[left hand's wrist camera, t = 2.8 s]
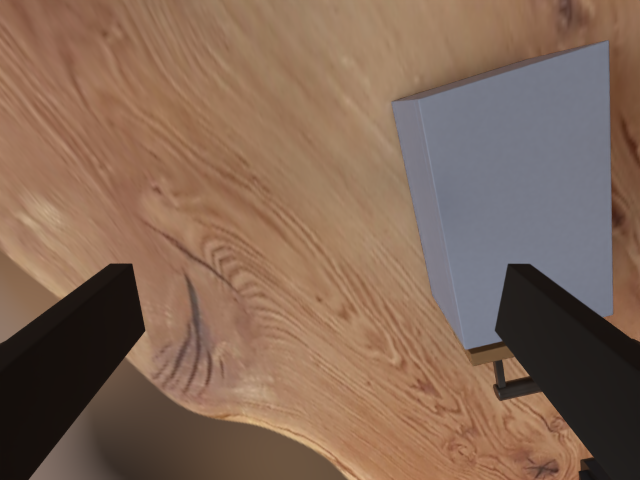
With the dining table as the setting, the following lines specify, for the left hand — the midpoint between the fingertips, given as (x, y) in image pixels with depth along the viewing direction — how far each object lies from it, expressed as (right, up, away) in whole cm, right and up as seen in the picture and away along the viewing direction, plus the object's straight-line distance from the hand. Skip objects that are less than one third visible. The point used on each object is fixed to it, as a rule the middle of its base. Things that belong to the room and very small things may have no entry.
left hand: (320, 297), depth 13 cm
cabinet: (+13, +6, +18) cm, 23 cm away
